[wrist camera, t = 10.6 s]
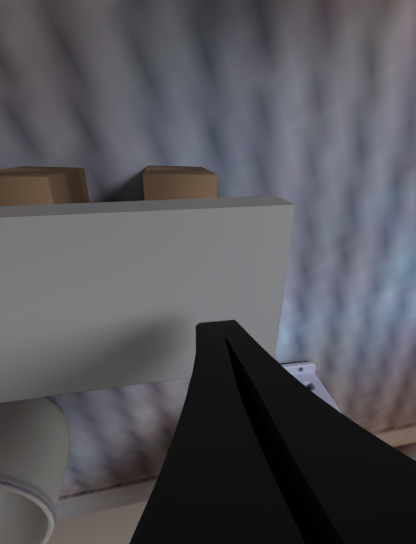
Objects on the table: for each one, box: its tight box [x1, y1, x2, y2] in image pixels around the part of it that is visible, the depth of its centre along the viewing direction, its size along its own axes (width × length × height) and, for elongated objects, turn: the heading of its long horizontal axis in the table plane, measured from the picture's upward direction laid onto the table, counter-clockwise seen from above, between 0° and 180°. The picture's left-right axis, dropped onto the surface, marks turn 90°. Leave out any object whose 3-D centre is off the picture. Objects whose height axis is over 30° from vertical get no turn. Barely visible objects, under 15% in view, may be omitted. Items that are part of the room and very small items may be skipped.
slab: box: [0, 196, 295, 403], centre depth 11 cm, size 14×8×2 cm, turn 91°
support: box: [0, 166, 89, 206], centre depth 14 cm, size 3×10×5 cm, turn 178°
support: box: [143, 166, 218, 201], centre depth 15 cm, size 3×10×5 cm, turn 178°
